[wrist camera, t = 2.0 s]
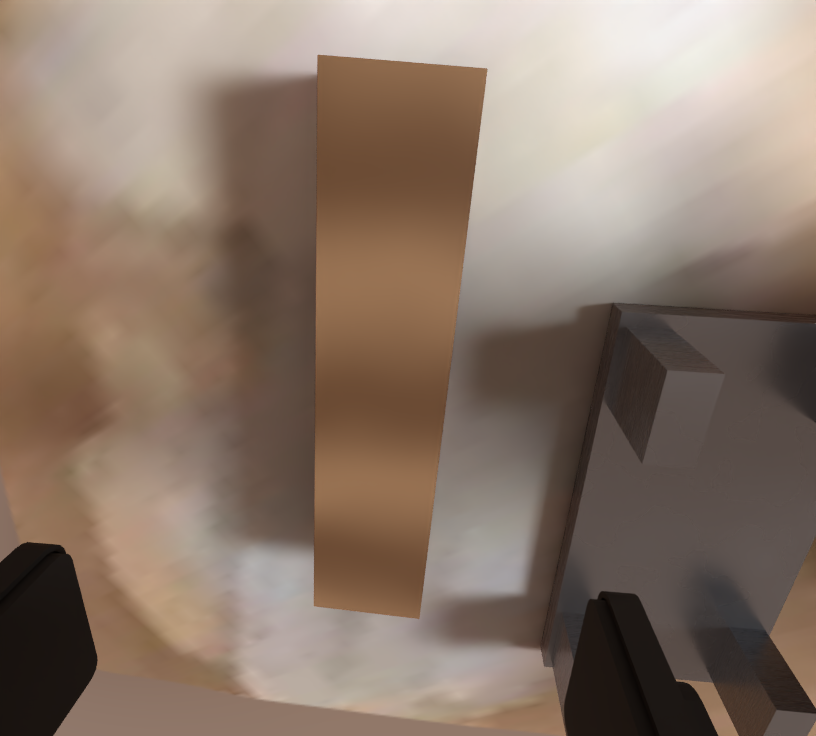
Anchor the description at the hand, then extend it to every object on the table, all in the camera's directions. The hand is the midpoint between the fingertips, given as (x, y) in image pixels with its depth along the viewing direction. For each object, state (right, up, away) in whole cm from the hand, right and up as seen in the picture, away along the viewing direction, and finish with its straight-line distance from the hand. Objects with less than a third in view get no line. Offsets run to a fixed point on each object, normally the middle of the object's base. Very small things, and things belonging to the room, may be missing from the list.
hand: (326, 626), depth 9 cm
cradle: (+13, -1, +12) cm, 17 cm away
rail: (+1, +5, +10) cm, 11 cm away
